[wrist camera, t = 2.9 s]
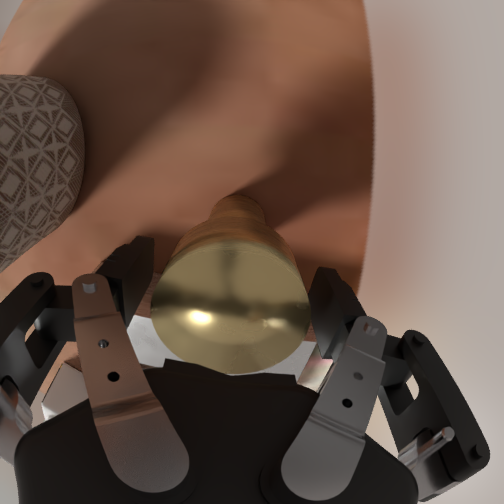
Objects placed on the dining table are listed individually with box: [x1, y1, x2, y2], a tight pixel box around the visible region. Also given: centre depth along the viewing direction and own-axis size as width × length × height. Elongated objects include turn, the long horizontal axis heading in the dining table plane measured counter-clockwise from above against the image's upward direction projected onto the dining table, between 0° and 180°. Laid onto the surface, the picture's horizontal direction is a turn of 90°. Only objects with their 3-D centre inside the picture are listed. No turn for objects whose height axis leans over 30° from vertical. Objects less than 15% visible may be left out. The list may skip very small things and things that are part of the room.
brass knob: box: [150, 195, 311, 374], centre depth 13 cm, size 5×5×10 cm
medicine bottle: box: [41, 363, 89, 422], centre depth 21 cm, size 7×7×12 cm
